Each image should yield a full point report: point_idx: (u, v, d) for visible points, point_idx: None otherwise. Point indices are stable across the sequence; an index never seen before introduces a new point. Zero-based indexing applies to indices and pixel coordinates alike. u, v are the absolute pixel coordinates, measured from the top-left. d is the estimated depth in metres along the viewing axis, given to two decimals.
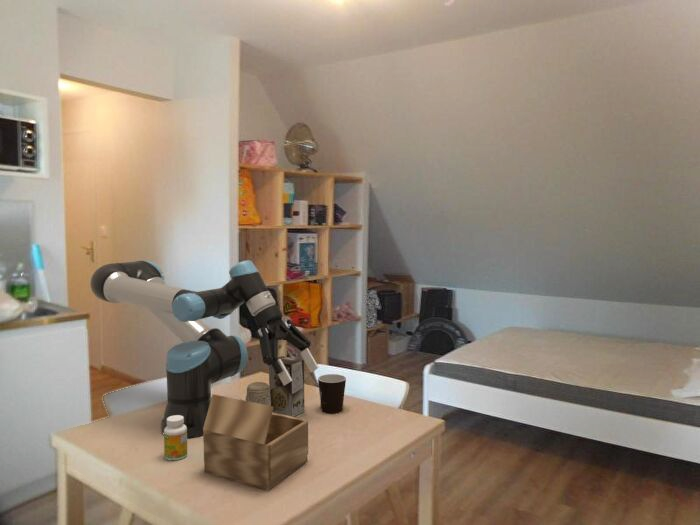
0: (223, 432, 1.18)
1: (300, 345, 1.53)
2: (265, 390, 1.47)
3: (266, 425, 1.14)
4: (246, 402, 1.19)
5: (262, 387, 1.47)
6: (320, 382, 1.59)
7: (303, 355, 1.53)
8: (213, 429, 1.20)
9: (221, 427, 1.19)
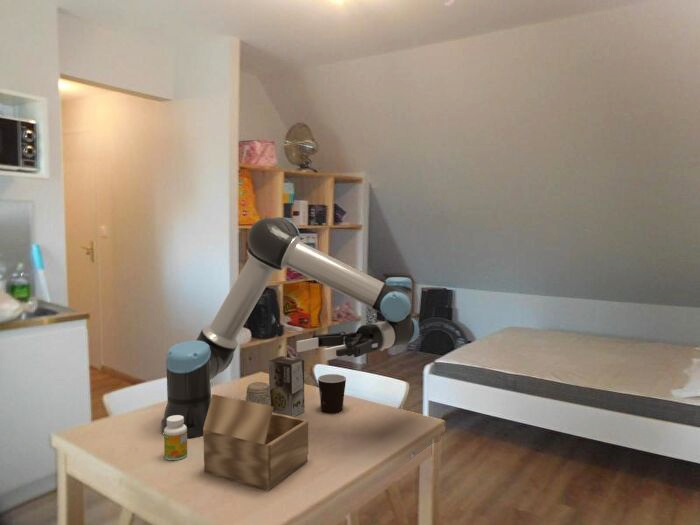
0: (223, 432, 1.18)
1: (324, 343, 1.40)
2: (265, 390, 1.47)
3: (266, 425, 1.14)
4: (246, 402, 1.19)
5: (262, 387, 1.47)
6: (320, 382, 1.59)
7: (314, 341, 1.38)
8: (213, 429, 1.20)
9: (221, 427, 1.19)
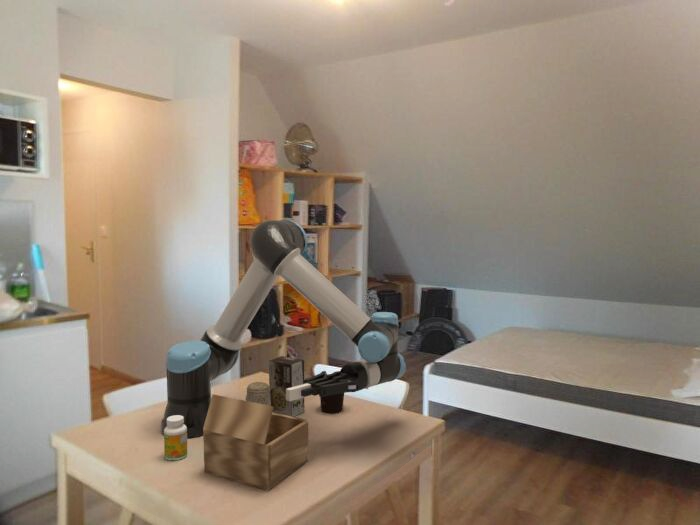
0: (223, 432, 1.18)
1: None
2: (265, 390, 1.47)
3: (266, 425, 1.14)
4: (246, 402, 1.19)
5: (262, 387, 1.47)
6: None
7: None
8: (213, 429, 1.20)
9: (221, 427, 1.19)
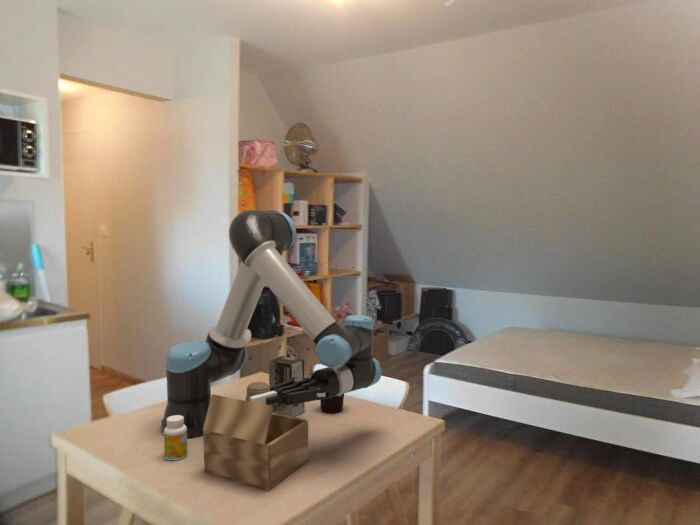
0: (223, 432, 1.18)
1: None
2: (265, 390, 1.47)
3: (266, 425, 1.14)
4: (245, 402, 1.18)
5: (262, 387, 1.47)
6: None
7: None
8: (213, 429, 1.20)
9: (221, 427, 1.19)
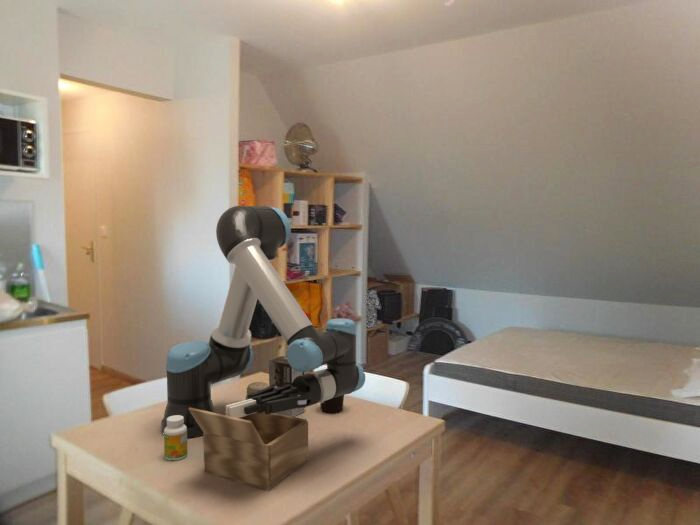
0: (222, 435, 1.18)
1: None
2: None
3: (255, 435, 1.11)
4: (224, 418, 1.12)
5: (262, 387, 1.47)
6: None
7: None
8: (211, 432, 1.19)
9: (217, 432, 1.18)
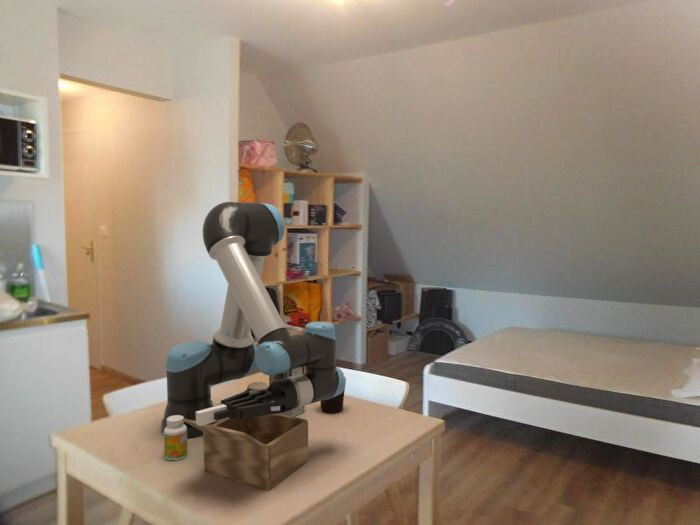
0: (222, 436, 1.18)
1: None
2: None
3: (253, 441, 1.10)
4: (218, 429, 1.11)
5: (262, 387, 1.47)
6: None
7: None
8: (211, 433, 1.19)
9: (217, 434, 1.18)
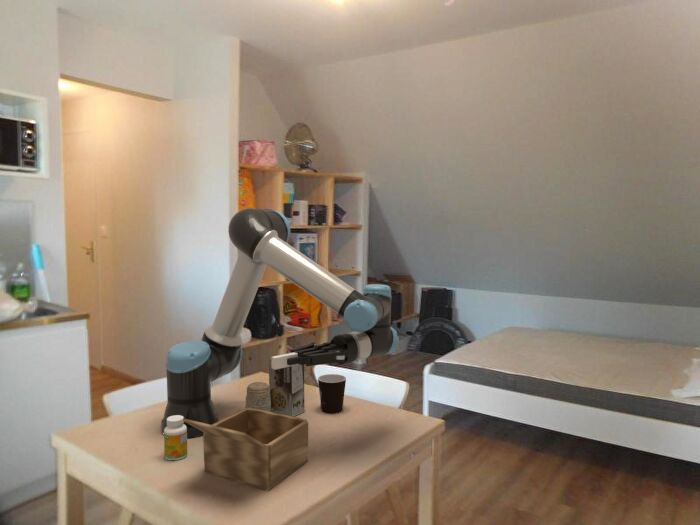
0: (222, 436, 1.18)
1: None
2: (265, 390, 1.47)
3: (253, 441, 1.10)
4: (218, 429, 1.11)
5: (262, 387, 1.47)
6: (320, 382, 1.59)
7: None
8: (211, 433, 1.19)
9: (217, 434, 1.18)
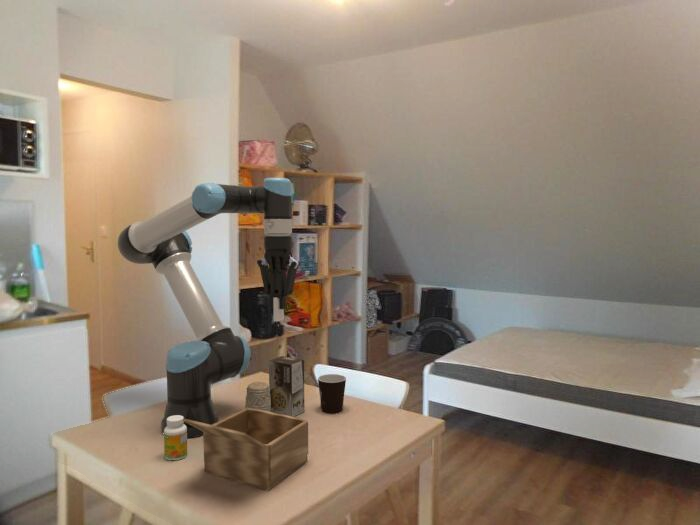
0: (222, 436, 1.18)
1: None
2: (265, 390, 1.47)
3: (253, 441, 1.10)
4: (218, 429, 1.11)
5: (262, 387, 1.47)
6: (320, 382, 1.59)
7: None
8: (211, 433, 1.19)
9: (217, 434, 1.18)
